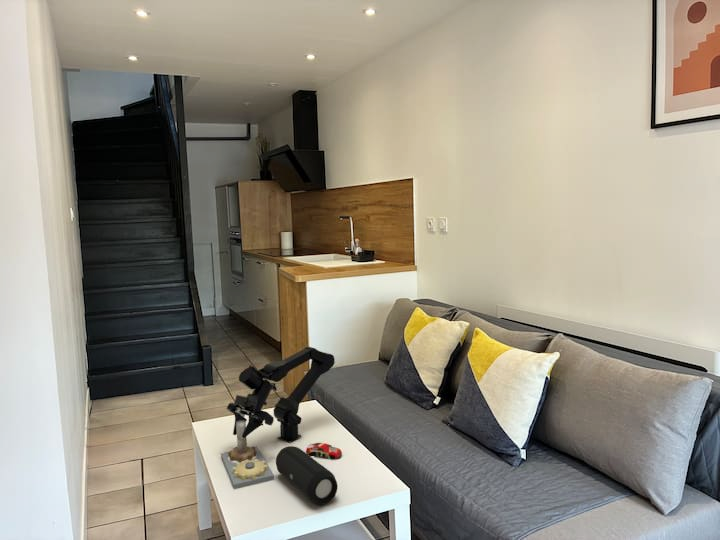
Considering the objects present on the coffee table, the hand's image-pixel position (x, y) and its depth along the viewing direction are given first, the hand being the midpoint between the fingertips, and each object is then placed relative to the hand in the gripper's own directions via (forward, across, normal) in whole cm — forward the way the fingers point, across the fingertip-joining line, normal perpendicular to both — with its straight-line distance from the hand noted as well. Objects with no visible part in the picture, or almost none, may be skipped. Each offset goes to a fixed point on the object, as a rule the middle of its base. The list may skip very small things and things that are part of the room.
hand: (238, 436), depth 188 cm
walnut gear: (+4, 0, +6) cm, 8 cm away
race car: (-7, +22, +21) cm, 31 cm away
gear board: (+8, +5, +6) cm, 11 cm away
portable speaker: (+8, +31, +6) cm, 33 cm away
